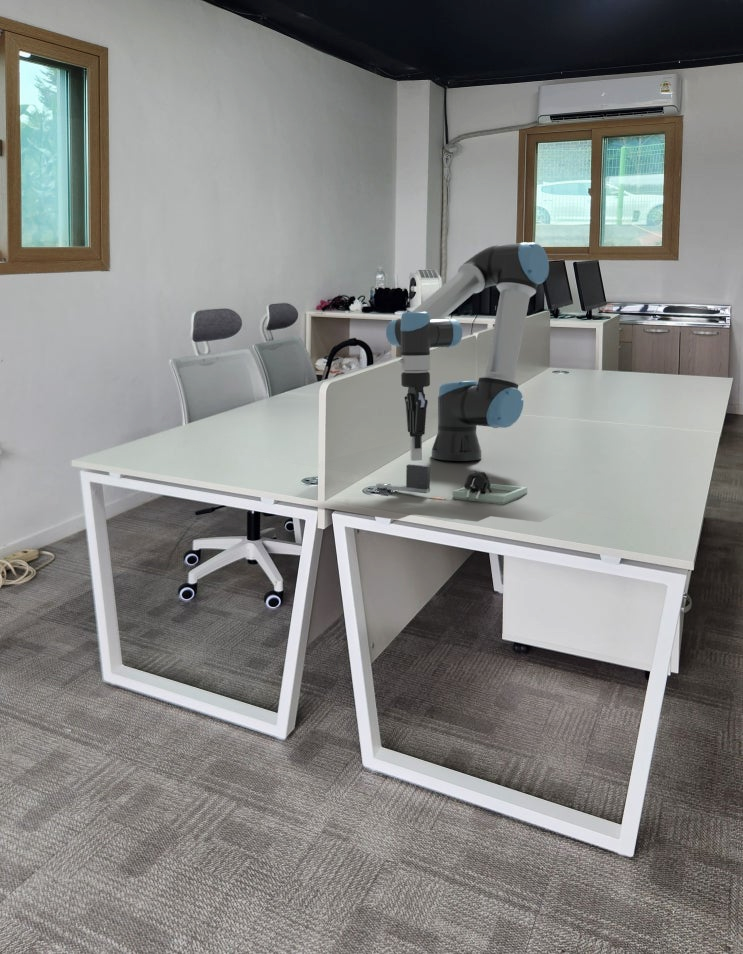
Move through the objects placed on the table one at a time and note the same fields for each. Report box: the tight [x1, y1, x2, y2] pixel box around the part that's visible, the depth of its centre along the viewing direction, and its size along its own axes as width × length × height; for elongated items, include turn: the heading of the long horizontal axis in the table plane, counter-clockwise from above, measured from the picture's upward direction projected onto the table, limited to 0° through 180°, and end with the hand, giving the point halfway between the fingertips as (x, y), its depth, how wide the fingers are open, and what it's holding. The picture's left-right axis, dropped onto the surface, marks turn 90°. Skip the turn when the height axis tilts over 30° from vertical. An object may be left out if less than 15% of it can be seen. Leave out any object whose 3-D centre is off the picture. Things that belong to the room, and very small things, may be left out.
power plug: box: [463, 470, 493, 500], centre depth 220 cm, size 6×8×12 cm
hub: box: [374, 488, 395, 496], centre depth 228 cm, size 7×7×1 cm
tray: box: [452, 483, 528, 505], centre depth 224 cm, size 16×14×2 cm
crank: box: [375, 463, 431, 494], centre depth 225 cm, size 15×4×7 cm, turn 61°
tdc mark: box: [429, 496, 446, 501], centre depth 220 cm, size 1×4×1 cm, turn 59°
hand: (416, 459), depth 231 cm, fingers closed
